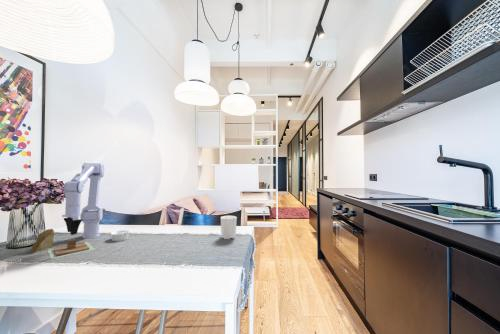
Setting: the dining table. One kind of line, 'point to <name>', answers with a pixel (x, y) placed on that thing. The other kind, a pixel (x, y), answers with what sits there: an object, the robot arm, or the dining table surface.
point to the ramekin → (120, 235)
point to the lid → (70, 248)
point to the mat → (53, 255)
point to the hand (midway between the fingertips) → (72, 232)
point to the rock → (43, 241)
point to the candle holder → (228, 226)
